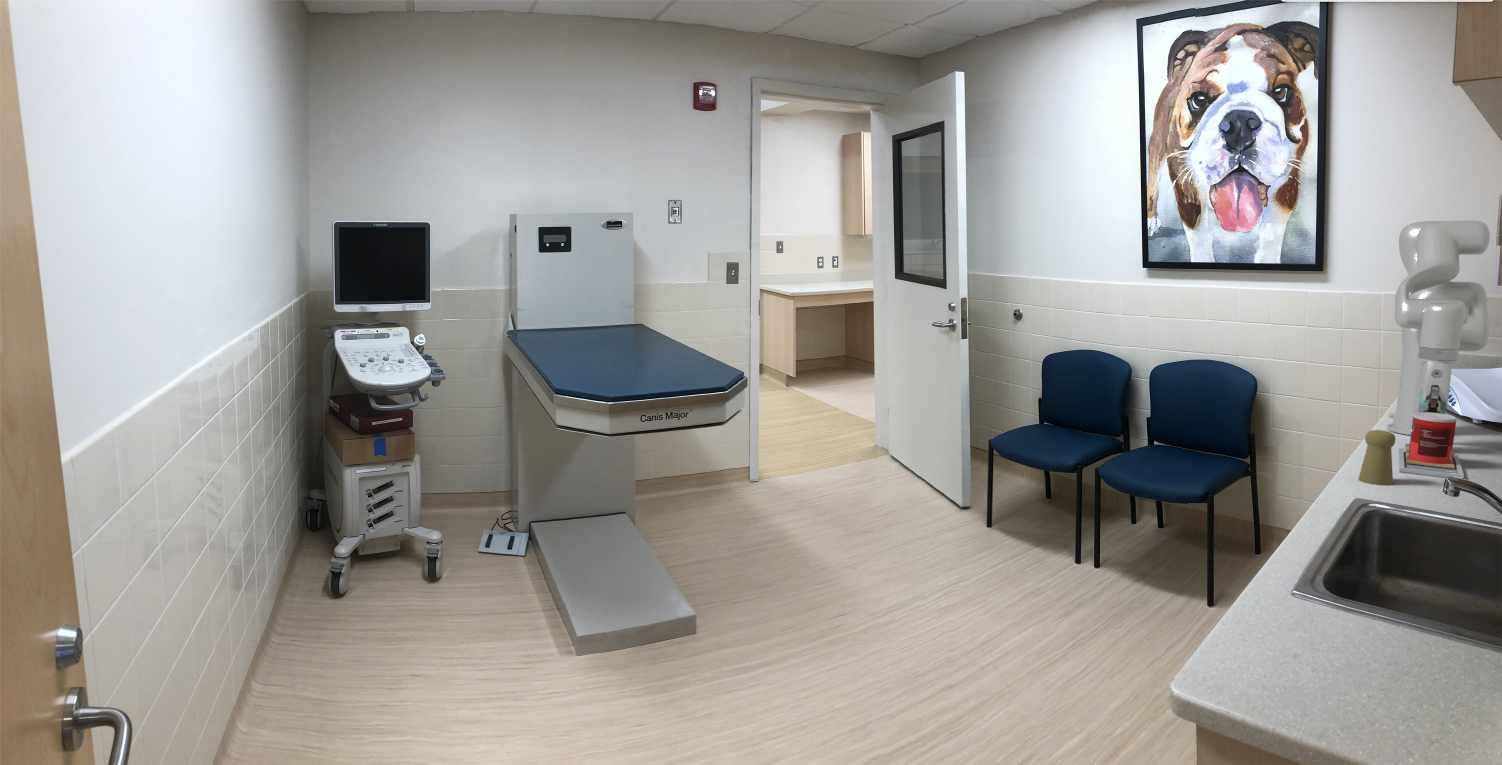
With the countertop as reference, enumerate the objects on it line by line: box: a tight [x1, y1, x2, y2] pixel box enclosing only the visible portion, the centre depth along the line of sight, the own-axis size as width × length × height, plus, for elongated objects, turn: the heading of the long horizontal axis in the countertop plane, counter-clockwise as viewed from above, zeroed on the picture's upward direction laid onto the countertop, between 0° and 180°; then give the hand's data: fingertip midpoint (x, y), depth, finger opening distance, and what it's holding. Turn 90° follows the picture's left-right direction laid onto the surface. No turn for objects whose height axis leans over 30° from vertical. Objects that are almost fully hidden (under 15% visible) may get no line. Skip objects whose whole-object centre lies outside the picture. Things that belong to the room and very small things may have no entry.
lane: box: [1398, 448, 1465, 479], centre depth 195 cm, size 22×11×1 cm, turn 143°
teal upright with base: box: [1404, 390, 1455, 469], centre depth 199 cm, size 21×8×14 cm, turn 143°
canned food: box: [1408, 412, 1457, 467], centre depth 195 cm, size 8×8×11 cm
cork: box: [1358, 429, 1396, 486], centre depth 182 cm, size 6×6×11 cm
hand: (1429, 423), depth 209 cm, fingers open, 9 cm apart
